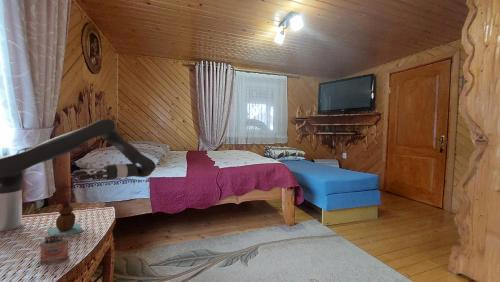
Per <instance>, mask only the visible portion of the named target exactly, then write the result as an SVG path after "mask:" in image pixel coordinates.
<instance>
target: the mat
mask: <svg viewBox="0 0 500 282" xmlns="http://www.w3.org/2000/svg"><path fill="white" fill-rule="evenodd" d="M46 231H47V233H48V235H52V234H63V233H66V234H67V236H66V237H68V236H72V235H75V234H79V233H84V231H85V230H84V229H83V228H82V227H81V225H80V224H79V223H78V222H75V223H74V226H73V228H71V229H70V230H68V231H59V230H58V228H57V226H56V227H53V228H49V229H47V230H46Z"/></svg>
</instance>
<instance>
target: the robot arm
mask: <svg viewBox="0 0 500 282" xmlns="http://www.w3.org/2000/svg"><path fill="white" fill-rule="evenodd" d="M116 128H117V127H116V124H115V122H114V121H113V120H112V119H110V118H101V119H99V120H96V121H94V122H92V123H91V124H88V125H87V126H84V127H81V128H78V129H76V130H72V131H70V132H67V133H64V134H61V135H58V136H55V137H53V138H50V139H48V140H45V141H44V142H41V143H39V144H38V145H36V146H33V147H32V148H29V149H27V150H24V151H22V152H19V153H15V154H12V155H2V156H0V232H7V231H8V232H9V231H11V230H14V229H17V228H19V227H22V225H23V222H22V221H23V200H22V198H23V197H22V196H23V195H22V194H23V193H22V191H23V188H22V187H23V177H24V176H23V172H24V171H25V170H27V169H30V168H31V167H33V166H36V165H38V164H41V163H44V162H47V161H50V160H53V159H56V158H58V157H61V156H64V155H67V154H69V153H71V152H74V151H75V150H77V149H79V148H80V147H82V146H83V145H84V144H85V143H87V142H89V141H90V140H92V139H95V138H98V137H101V138H102V139H104V140H105V141H107V142H108V143H109V144H111V145H112V146H114V147H115V148H116V150H118V151H119V152H120V153H121V154H122V155H123V156H124V157H125V159H127V160H128V161H129V162H130V163H123V164H122V163H116V164H105V165H104V166H103V168H102V169H100V168H86V169H83V170H78V171H74V172H73V176H74V177H78V179H79V180H80V181H82V180H83V181H84V180H93V181H95V180H103V179H104V180H105V181H111V180H112V181H113V180H120V179H123V178H130V177H137V178H145V177H149V176H151V174H152V173H153V172H154V171H155V170H156V168H157V165H156V163H155V161H154V160H152V159H151V158H150V157H148V156H146V155H144V154H143V153H141V152H140V151H139V150H138V149H137V148H136V147H135V146H134V145H132V144H131V143H130V142H128V141H126V140H125V139H124V138H123V137H122V136H121V135H120V134H119V133H118V131H117V129H116ZM137 164H139V165H140V166H138V165H137Z"/></svg>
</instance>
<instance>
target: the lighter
mask: <svg viewBox="0 0 500 282" xmlns="http://www.w3.org/2000/svg"><path fill="white" fill-rule="evenodd" d="M69 241H70V239H69V238H68V236H67V234H66V233H63V234H52V235H50V234H48V235H45V236H44V240H43V241H41V242H40V243H39V246H40V260H39V265H40V264H41V266H44V265H43V264H46V265H53V264H54V263H55V264H59V263H64V262H66V261H68V260H69V258H70V256H69ZM46 265H45V266H46Z"/></svg>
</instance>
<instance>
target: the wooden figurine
mask: <svg viewBox="0 0 500 282" xmlns="http://www.w3.org/2000/svg"><path fill="white" fill-rule="evenodd" d="M73 210H74V209H73V206H72V205H70V202H69V200H67V198H65V199H64V198H63V199H62V205H61V207H60V208H59V209H58V214H59V215H58V216H57V218H56V221H55V225H56V227H57V228H58V230H59V231H68V230H70V229H71V228H73V226H74V223H76V215H75V213H74V212H73Z"/></svg>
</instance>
